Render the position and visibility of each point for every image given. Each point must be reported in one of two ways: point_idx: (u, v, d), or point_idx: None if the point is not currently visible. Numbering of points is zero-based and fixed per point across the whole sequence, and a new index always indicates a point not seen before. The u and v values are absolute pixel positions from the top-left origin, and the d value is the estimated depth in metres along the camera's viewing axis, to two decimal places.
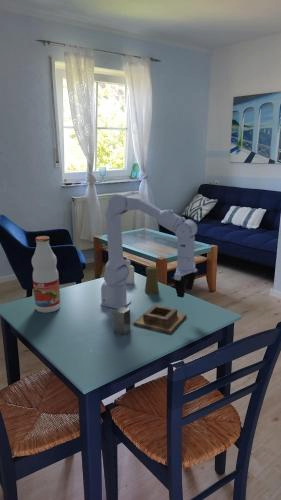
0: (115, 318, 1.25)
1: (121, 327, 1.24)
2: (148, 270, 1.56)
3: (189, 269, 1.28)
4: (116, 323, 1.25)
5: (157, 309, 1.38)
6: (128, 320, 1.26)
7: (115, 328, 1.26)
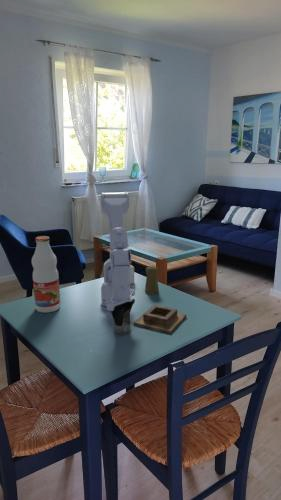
0: None
1: (121, 327, 1.24)
2: (148, 270, 1.56)
3: (124, 298, 1.21)
4: None
5: (157, 309, 1.38)
6: (128, 320, 1.26)
7: (115, 328, 1.26)
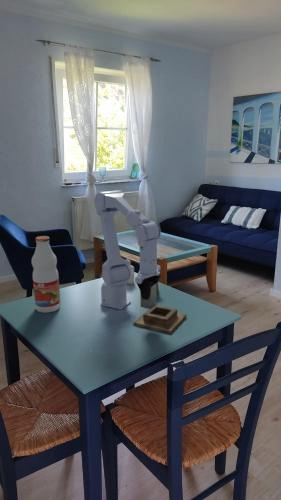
0: None
1: (148, 300, 1.27)
2: None
3: (151, 272, 1.24)
4: None
5: (157, 309, 1.38)
6: (154, 294, 1.29)
7: (142, 302, 1.29)
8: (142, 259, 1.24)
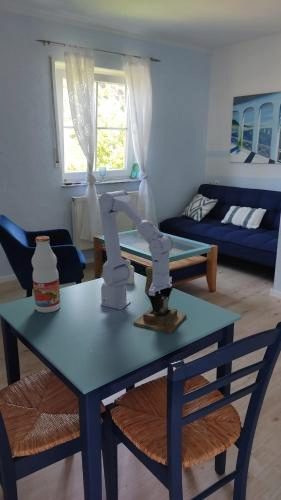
0: None
1: (161, 313, 1.31)
2: (148, 270, 1.56)
3: (164, 284, 1.28)
4: None
5: None
6: (166, 307, 1.33)
7: None
8: (157, 272, 1.27)
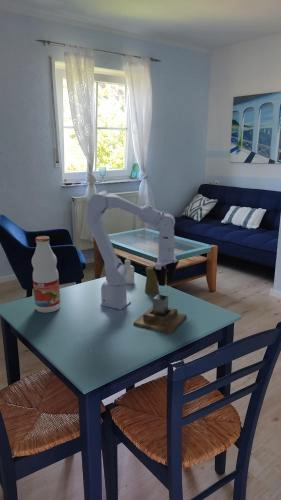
0: (155, 305, 1.32)
1: (161, 313, 1.31)
2: (148, 270, 1.56)
3: (169, 259, 1.37)
4: (155, 310, 1.32)
5: None
6: (166, 307, 1.33)
7: None
8: (167, 248, 1.36)
